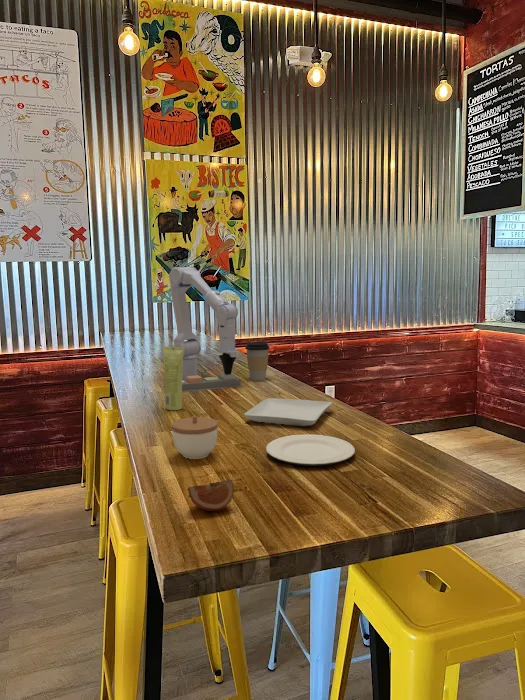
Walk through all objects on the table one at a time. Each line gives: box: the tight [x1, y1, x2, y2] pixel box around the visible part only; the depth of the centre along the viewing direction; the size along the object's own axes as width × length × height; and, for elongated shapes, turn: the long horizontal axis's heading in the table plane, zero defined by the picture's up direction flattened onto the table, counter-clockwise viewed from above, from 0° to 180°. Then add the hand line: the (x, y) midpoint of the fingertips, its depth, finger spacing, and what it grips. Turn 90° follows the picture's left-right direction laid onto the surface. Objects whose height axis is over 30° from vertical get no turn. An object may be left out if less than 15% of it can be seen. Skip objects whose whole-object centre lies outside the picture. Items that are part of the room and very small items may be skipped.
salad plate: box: [243, 397, 333, 427], centre depth 159 cm, size 21×21×3 cm
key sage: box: [202, 376, 219, 382], centre depth 199 cm, size 5×5×2 cm
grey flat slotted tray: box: [162, 376, 244, 393], centre depth 198 cm, size 12×27×3 cm, turn 112°
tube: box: [162, 346, 184, 411], centre depth 169 cm, size 6×5×20 cm
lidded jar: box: [171, 415, 219, 460], centre depth 127 cm, size 11×11×9 cm
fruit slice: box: [187, 479, 235, 512], centre depth 99 cm, size 8×7×5 cm
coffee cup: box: [244, 341, 271, 382], centre depth 209 cm, size 9×9×15 cm
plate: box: [265, 433, 356, 467], centre depth 128 cm, size 21×21×2 cm
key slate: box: [219, 372, 237, 380], centre depth 201 cm, size 5×5×2 cm
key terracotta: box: [186, 374, 203, 383], centre depth 196 cm, size 5×5×2 cm
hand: (227, 373), depth 201 cm, fingers closed
